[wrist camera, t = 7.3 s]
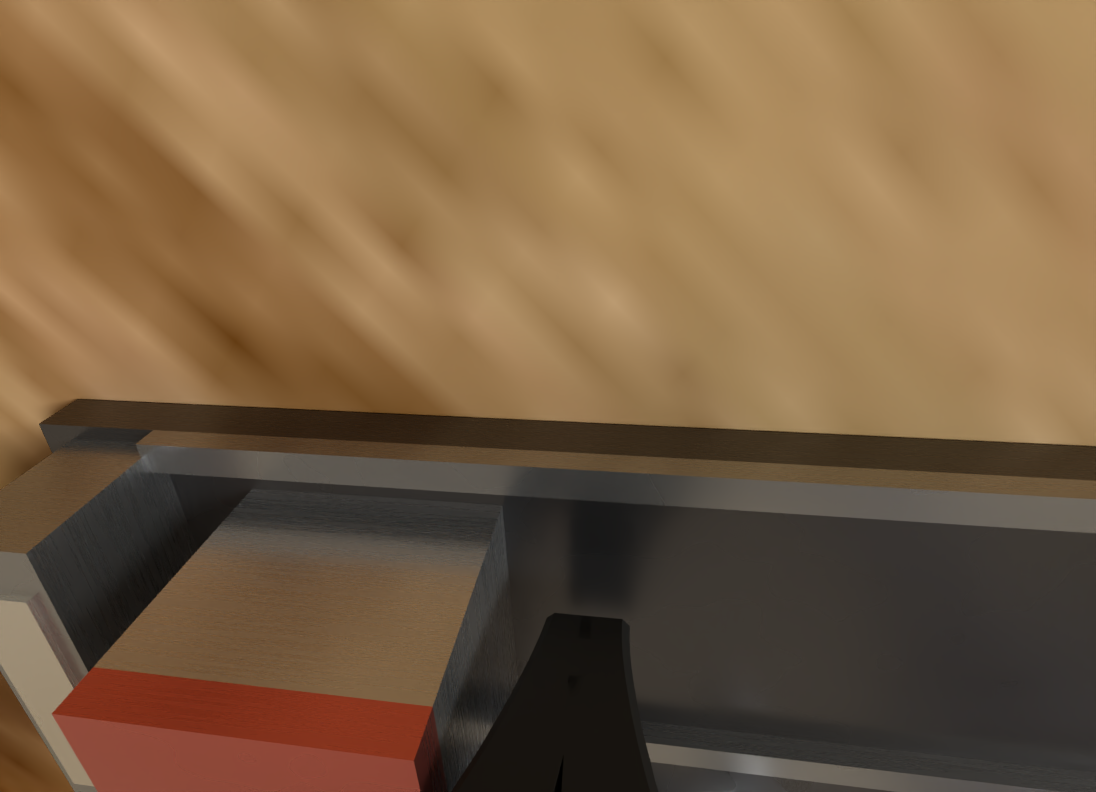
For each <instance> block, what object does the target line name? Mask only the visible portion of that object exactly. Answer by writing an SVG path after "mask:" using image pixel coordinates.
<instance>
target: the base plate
mask: <svg viewBox="0 0 1096 792" xmlns="http://www.w3.org/2000/svg"><path fill="white" fill-rule="evenodd" d="M39 425H40V427H41V430H42V432H43V434H44V436H45V438H46V440H47V443H48V445H49V447H50V449H51V451H52V454H51V455H49V456H48V457H47V458H45V459H44V460H42V461H41V462H39V463H38V464H37V465H35V466H34V467H32V468H31V469H29V470H28V471H27V472H25V473H24V474H22V475H21V476H19V477H18V478H17V479H15V480H14V481H12V482H11V483H10V484H8V485H7V486H5V487H4V488H2V489H1V490H0V671H1V673H2V675H3V676H4V678H5V679H6V681H7V683H8V684H9V686H10V688H11V689H12V691H13V692H14V694H15V696H16V697H17V699H18V701H19V702H20V704H21V705H22V707H23V709H24V710H25V712H26V714H27V715H28V717H29V718H30V720H31V722H32V723H33V725H34V726H35V728H36V730H37V731H38V733H39V735H40V736H41V738H42V739H43V741H44V743H45V744H46V746H47V748H48V749H49V751H50V752H51V754H52V756H53V757H54V759H55V761H56V762H57V764H58V765H59V767H60V769H61V770H62V772H63V774H64V775H65V777H66V778H67V780H68V782H69V783H70V785H71V786H72V788H73V790H74V791H75V792H97V790H96V788H95V787H94V785H93V783H92V781H91V780H90V778H89V776H88V775H87V773H86V771H85V770H84V768H83V766H82V765H81V763H80V761H79V759H78V758H77V756H76V754H75V753H74V751H73V749H72V748H71V746H70V744H69V743H68V741H67V739H66V738H65V736H64V734H63V732H62V731H61V729H60V727H59V726H58V724H57V722H56V721H55V719H54V717H53V716H52V713H53V712H54V711H55V709H56V708H57V707H58V706H59V705H60V704H61V703H62V702H63V700H64V699H65V698H66V697H67V696H68V695H69V694H70V693H71V691H72V690H73V689H74V688H75V687H76V686H77V685H78V684H79V682H80V681H81V680H82V679H83V678H84V677H85V676H86V675H87V674H88V672H89V671H90V670H91V669H92V668H93V667H94V666H95V665H96V663H97V662H98V661H99V660H100V659H101V658H102V657H103V656H104V654H105V653H106V652H107V651H108V650H109V649H110V648H111V647H112V645H113V644H114V643H115V642H116V641H117V640H118V639H119V638H120V636H121V635H122V634H123V633H124V632H125V631H126V630H127V629H128V628H129V626H130V625H131V624H132V623H133V622H134V621H135V620H136V619H137V617H138V616H139V615H140V614H141V613H142V612H143V611H144V610H145V608H146V607H147V606H148V605H149V604H150V603H151V602H152V601H153V599H154V598H155V597H156V596H157V595H158V594H159V593H160V592H161V591H162V589H163V588H164V587H165V586H166V585H167V584H168V583H169V582H170V580H171V579H172V578H173V577H174V576H175V575H176V574H177V573H178V571H179V570H180V569H181V568H182V567H183V566H184V565H185V564H186V562H187V561H188V560H189V559H190V558H191V557H192V556H193V555H194V553H195V552H196V551H197V550H198V549H199V548H200V547H201V546H202V545H203V543H204V542H205V541H206V540H207V539H208V538H209V537H210V536H211V534H212V533H213V532H214V531H215V530H216V529H217V528H218V527H219V525H220V524H221V523H222V522H223V521H224V520H225V519H226V518H227V516H228V515H229V514H230V513H231V512H232V511H233V510H234V509H235V508H236V506H237V505H238V504H239V503H240V502H241V501H242V500H243V499H244V497H245V496H246V495H247V494H248V493H249V492H250V491H251V490H252V488H253V489H268V490H283V491H298V492H313V493H328V494H342V495H357V496H372V497H387V498H402V499H416V500H431V501H446V502H461V503H476V504H490V505H502V506H503V517H504V529H505V540H506V552H507V563H508V574H509V586H510V597H511V608H512V620H513V631H514V642H515V654H516V665H517V676H518V680H519V678H520V676H521V674H522V672H523V670H524V668H525V666H526V664H527V662H528V660H529V658H530V656H531V654H532V652H533V650H534V647H535V645H536V643H537V641H538V638H539V636H540V634H541V631H542V629H543V626H544V624H545V621H546V619H547V617H549V616H550V615H552V614H553V613H562V614H573V615H584V616H595V617H606V618H617V619H623V620H624V621H625V622H626V623H627V624H628V625H629V626H630V657H631V667H632V674H633V682H634V688H635V693H636V699H637V705H638V710H639V715H640V720H641V725H642V729H643V734H644V738H645V742H646V746H647V750H648V754H649V758H650V762H651V766H652V770H653V774H654V778H655V782H656V785H657V789H658V792H1096V447H1083V446H1061V445H1040V444H1019V443H997V442H976V441H954V440H933V439H912V438H890V437H869V436H848V435H826V434H805V433H784V432H762V431H741V430H719V429H698V428H677V427H655V426H634V425H613V424H591V423H570V422H549V421H527V420H506V419H485V418H463V417H442V416H420V415H399V414H378V413H356V412H335V411H314V410H292V409H271V408H250V407H228V406H207V405H185V404H164V403H143V402H121V401H100V400H79V399H77V400H76V401H74V402H72V403H71V404H69V405H68V406H66V407H65V408H63V409H62V410H60V411H58V412H57V413H55V414H54V415H52V416H51V417H49V418H47V419H46V420H44V421H43V422H41V423H40V424H39Z"/></svg>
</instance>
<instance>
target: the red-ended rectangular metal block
mask: <svg viewBox="0 0 1096 792" xmlns="http://www.w3.org/2000/svg"><path fill="white" fill-rule="evenodd" d="M517 681H518V676H517V665H516V654H515V642H514V631H513V620H512V608H511V597H510V586H509V574H508V563H507V552H506V540H505V529H504V517H503V506H502V505H490V504H476V503H461V502H446V501H431V500H416V499H402V498H387V497H372V496H357V495H342V494H328V493H313V492H298V491H283V490H268V489H253V488H252V490H251V491H250V492H249V493H248V494H247V495H246V496H245V497H244V499H243V500H242V501H241V502H240V503H239V504H238V505H237V506H236V508H235V509H234V510H233V511H232V512H231V513H230V514H229V515H228V516H227V518H226V519H225V520H224V521H223V522H222V523H221V524H220V525H219V527H218V528H217V529H216V530H215V531H214V532H213V533H212V534H211V536H210V537H209V538H208V539H207V540H206V541H205V542H204V543H203V545H202V546H201V547H200V548H199V549H198V550H197V551H196V552H195V553H194V555H193V556H192V557H191V558H190V559H189V560H188V561H187V562H186V564H185V565H184V566H183V567H182V568H181V569H180V570H179V571H178V573H177V574H176V575H175V576H174V577H173V578H172V579H171V580H170V582H169V583H168V584H167V585H166V586H165V587H164V588H163V589H162V591H161V592H160V593H159V594H158V595H157V596H156V597H155V598H154V599H153V601H152V602H151V603H150V604H149V605H148V606H147V607H146V608H145V610H144V611H143V612H142V613H141V614H140V615H139V616H138V617H137V619H136V620H135V621H134V622H133V623H132V624H131V625H130V626H129V628H128V629H127V630H126V631H125V632H124V633H123V634H122V635H121V636H120V638H119V639H118V640H117V641H116V642H115V643H114V644H113V645H112V647H111V648H110V649H109V650H108V651H107V652H106V653H105V654H104V656H103V657H102V658H101V659H100V660H99V661H98V662H97V663H96V665H95V666H94V667H93V668H92V669H91V670H90V671H89V672H88V674H87V675H86V676H85V677H84V678H83V679H82V680H81V681H80V682H79V684H78V685H77V686H76V687H75V688H74V689H73V690H72V691H71V693H70V694H69V695H68V696H67V697H66V698H65V699H64V700H63V702H62V703H61V704H60V705H59V706H58V707H57V708H56V709H55V711H54V712H53V713H52V716H53V717H54V719H55V721H56V722H57V724H58V726H59V727H60V729H61V731H62V732H63V734H64V736H65V738H66V739H67V741H68V743H69V744H70V746H71V748H72V749H73V751H74V753H75V754H76V756H77V758H78V759H79V761H80V763H81V765H82V766H83V768H84V770H85V771H86V773H87V775H88V776H89V778H90V780H91V781H92V783H93V785H94V787H95V788H96V790H97V792H451V791H452V789H453V788H454V786H455V785H456V783H457V782H458V780H459V779H460V777H461V776H462V774H463V773H464V771H465V770H466V768H467V767H468V765H469V764H470V762H471V761H472V759H473V758H474V756H475V754H476V753H477V751H478V750H479V748H480V746H481V745H482V743H483V741H484V740H485V738H486V736H487V734H488V733H489V731H490V729H491V728H492V726H493V724H494V722H495V721H496V719H497V717H498V716H499V714H500V712H501V710H502V709H503V707H504V705H505V704H506V702H507V700H508V698H509V697H510V695H511V693H512V691H513V689H514V687H515V685H516V683H517Z"/></svg>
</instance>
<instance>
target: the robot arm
mask: <svg viewBox="0 0 1096 792" xmlns="http://www.w3.org/2000/svg"><path fill="white" fill-rule="evenodd" d="M451 792H658V789H657V785H656V782H655V778H654V774H653V770H652V766H651V762H650V758H649V754H648V750H647V746H646V742H645V738H644V734H643V729H642V725H641V720H640V715H639V710H638V705H637V699H636V693H635V688H634V682H633V674H632V667H631V657H630V626H629V625H628V624H627V623H626V622H625V621H624V620H623V619H617V618H606V617H595V616H584V615H573V614H562V613H553V614H552V615H550V616H549V617H547V619H546V621H545V624H544V626H543V629H542V631H541V634H540V636H539V638H538V641H537V643H536V645H535V647H534V650H533V652H532V654H531V656H530V658H529V660H528V662H527V664H526V666H525V668H524V670H523V672H522V674H521V676H520V678H519V680H518V681H517V683H516V685H515V687H514V689H513V691H512V693H511V695H510V697H509V698H508V700H507V702H506V704H505V705H504V707H503V709H502V710H501V712H500V714H499V716H498V717H497V719H496V721H495V722H494V724H493V726H492V728H491V729H490V731H489V733H488V734H487V736H486V738H485V740H484V741H483V743H482V745H481V746H480V748H479V750H478V751H477V753H476V754H475V756H474V758H473V759H472V761H471V762H470V764H469V765H468V767H467V768H466V770H465V771H464V773H463V774H462V776H461V777H460V779H459V780H458V782H457V783H456V785H455V786H454V788H453V789H452V791H451Z"/></svg>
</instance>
